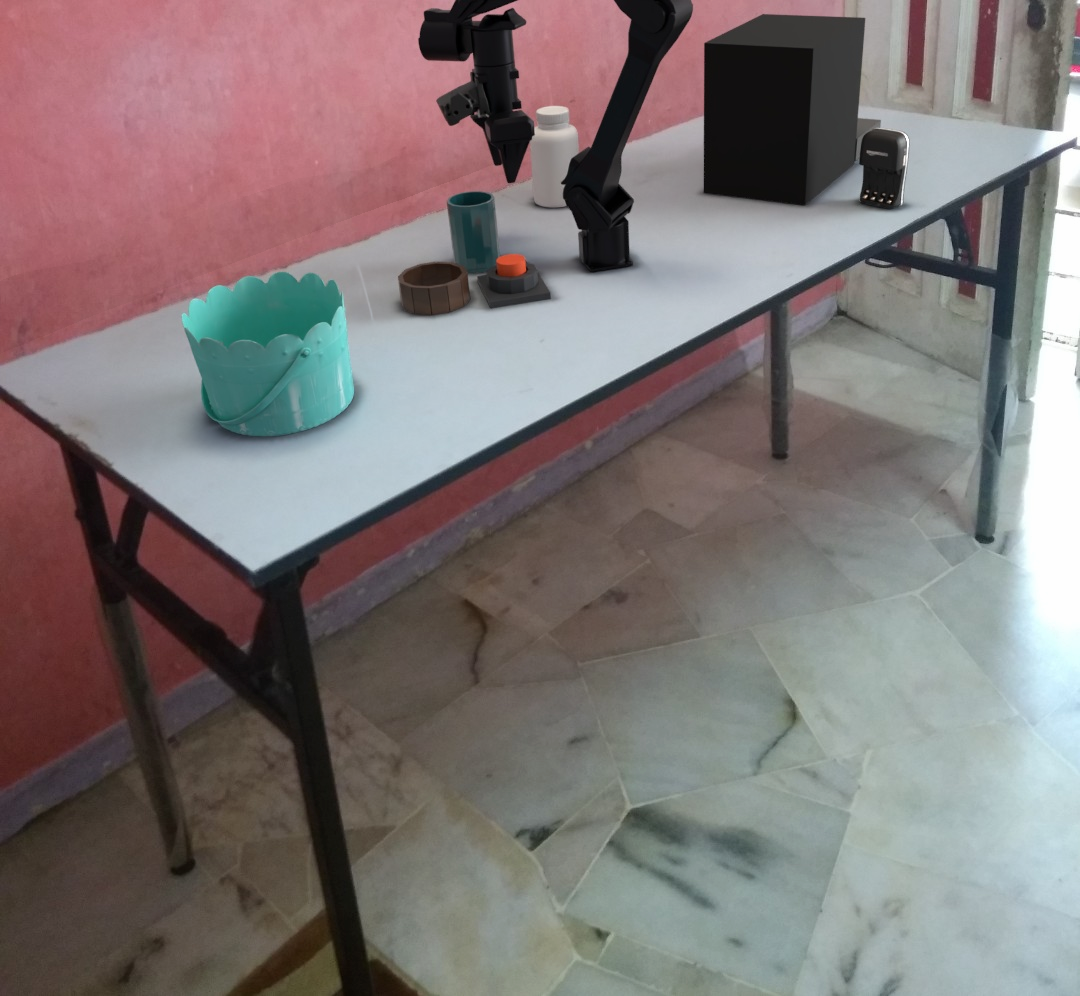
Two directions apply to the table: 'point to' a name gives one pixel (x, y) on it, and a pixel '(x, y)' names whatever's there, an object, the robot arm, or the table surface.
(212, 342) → the basket
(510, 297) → the button housing
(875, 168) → the battery charger
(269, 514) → the table surface
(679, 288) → the table surface
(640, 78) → the robot arm
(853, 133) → the matte black box
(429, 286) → the stave barrel planter
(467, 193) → the cup
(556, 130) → the pill bottle
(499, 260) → the release button
